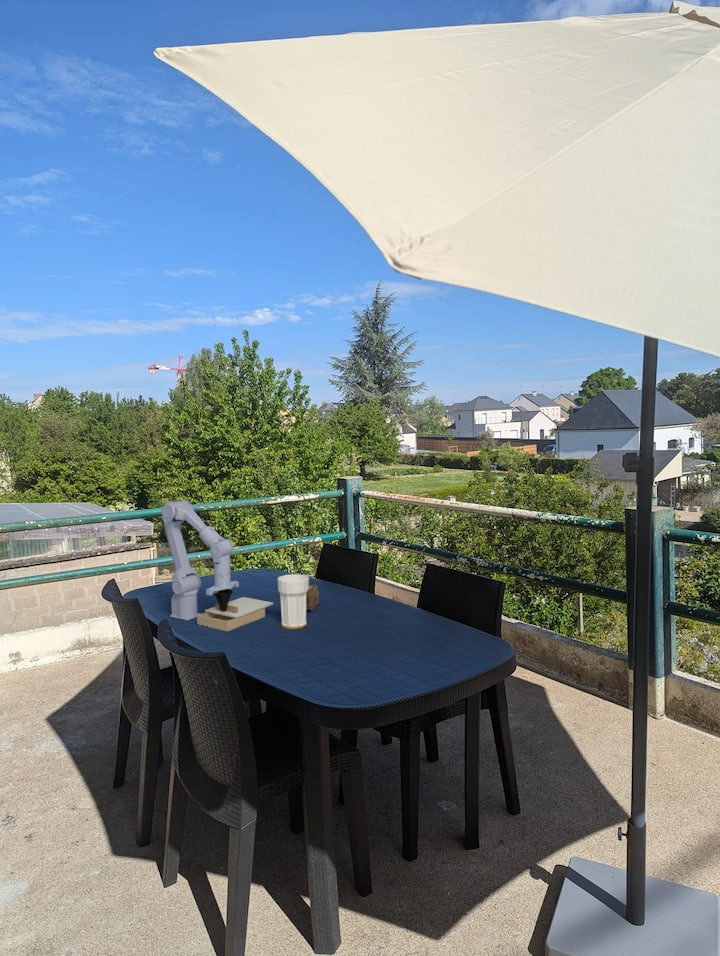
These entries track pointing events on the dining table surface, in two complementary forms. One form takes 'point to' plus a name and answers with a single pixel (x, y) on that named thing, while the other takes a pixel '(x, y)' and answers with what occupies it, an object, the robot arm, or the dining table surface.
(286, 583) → the cup
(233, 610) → the mailer lid
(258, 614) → the box
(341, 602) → the dining table surface
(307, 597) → the tin
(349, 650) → the dining table surface
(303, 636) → the dining table surface
